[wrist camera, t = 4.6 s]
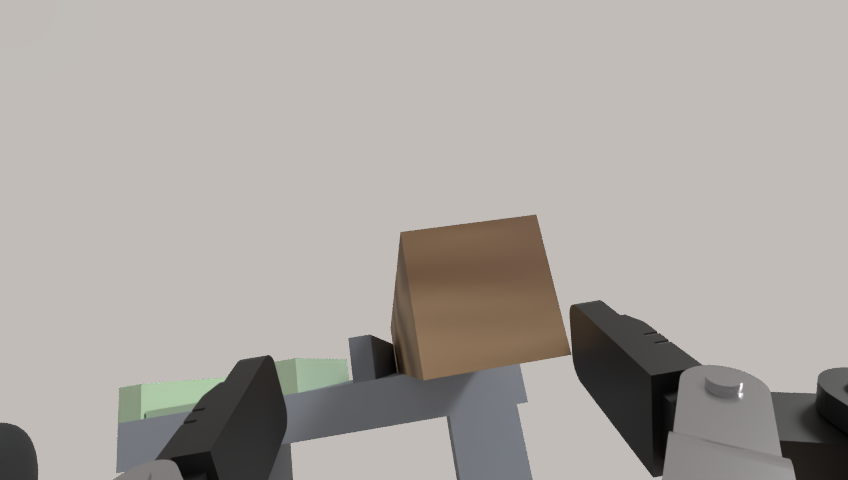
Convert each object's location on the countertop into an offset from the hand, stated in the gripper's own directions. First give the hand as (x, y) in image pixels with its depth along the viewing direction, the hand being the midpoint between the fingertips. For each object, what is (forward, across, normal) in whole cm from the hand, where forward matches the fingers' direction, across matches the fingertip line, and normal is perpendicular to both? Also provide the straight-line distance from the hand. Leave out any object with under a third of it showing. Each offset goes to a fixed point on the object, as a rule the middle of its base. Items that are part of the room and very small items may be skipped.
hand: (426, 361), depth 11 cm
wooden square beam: (+10, 0, +6) cm, 11 cm away
